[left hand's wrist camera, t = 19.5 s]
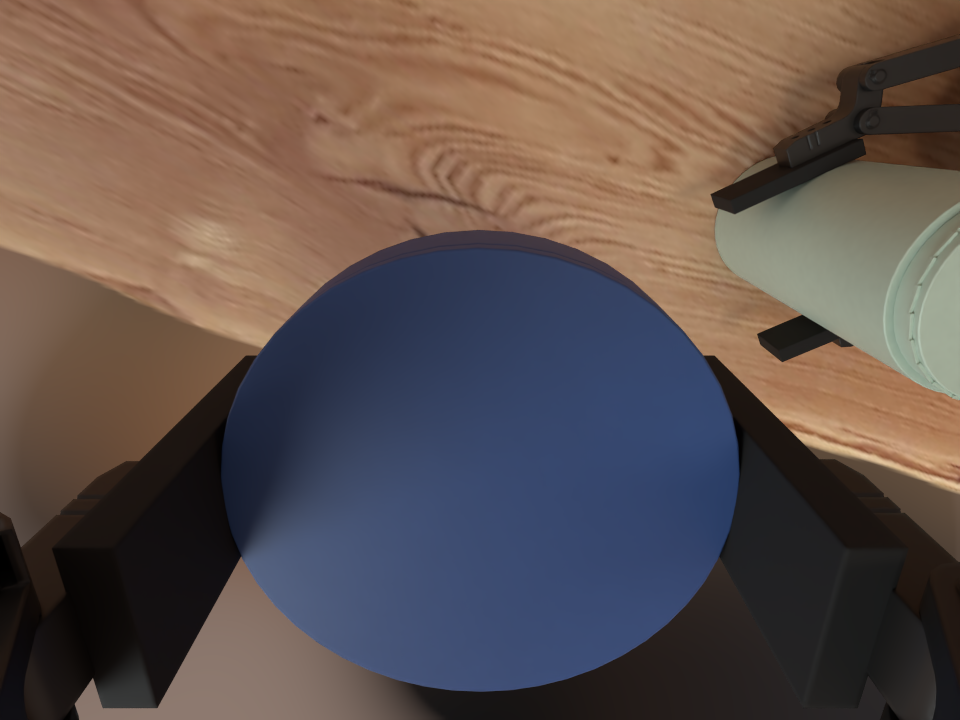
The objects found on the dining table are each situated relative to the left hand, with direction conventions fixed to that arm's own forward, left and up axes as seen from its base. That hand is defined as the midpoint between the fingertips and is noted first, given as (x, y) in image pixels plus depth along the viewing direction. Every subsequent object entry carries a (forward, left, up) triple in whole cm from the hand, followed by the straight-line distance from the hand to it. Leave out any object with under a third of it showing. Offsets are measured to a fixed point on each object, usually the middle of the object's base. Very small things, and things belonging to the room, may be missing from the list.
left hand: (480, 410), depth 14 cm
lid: (0, 0, +3) cm, 3 cm away
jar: (-3, +18, -26) cm, 32 cm away
